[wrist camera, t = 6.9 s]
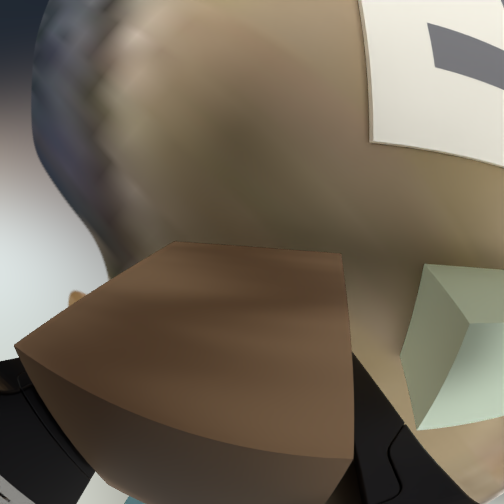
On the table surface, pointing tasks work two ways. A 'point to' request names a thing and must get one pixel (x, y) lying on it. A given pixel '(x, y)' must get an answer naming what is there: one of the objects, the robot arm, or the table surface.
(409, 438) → the robot arm
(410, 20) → the board
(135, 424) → the walnut block
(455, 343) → the sage cube
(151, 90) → the table surface
